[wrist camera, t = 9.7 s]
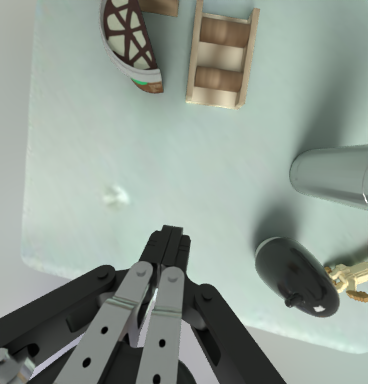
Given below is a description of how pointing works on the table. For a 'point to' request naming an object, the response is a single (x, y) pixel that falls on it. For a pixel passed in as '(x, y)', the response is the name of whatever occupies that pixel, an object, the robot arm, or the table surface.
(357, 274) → the cat figure
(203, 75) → the roller rack
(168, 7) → the block
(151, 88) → the food container
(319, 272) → the pump dispenser
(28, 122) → the table surface
